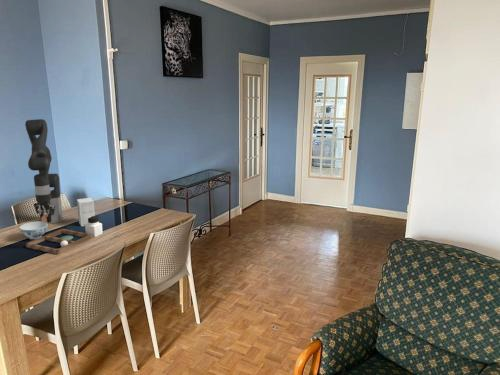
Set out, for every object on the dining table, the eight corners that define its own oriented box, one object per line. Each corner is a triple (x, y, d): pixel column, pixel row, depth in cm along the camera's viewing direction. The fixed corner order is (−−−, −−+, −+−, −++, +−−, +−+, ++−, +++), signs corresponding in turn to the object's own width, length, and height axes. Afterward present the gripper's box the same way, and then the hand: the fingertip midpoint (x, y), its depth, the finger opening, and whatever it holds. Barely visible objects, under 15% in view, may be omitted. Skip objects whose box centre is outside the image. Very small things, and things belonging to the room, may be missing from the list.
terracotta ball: (39, 222, 214) (39, 215, 213) (46, 220, 218) (45, 213, 217) (45, 224, 212) (44, 216, 211) (52, 221, 216) (51, 214, 215)
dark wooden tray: (25, 247, 216) (25, 243, 215) (62, 232, 239) (62, 228, 239) (57, 254, 208) (57, 250, 207) (92, 238, 231) (92, 234, 231)
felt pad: (55, 239, 227) (55, 239, 227) (66, 235, 235) (66, 234, 235) (65, 241, 225) (65, 241, 225) (76, 237, 232) (76, 236, 232)
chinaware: (22, 234, 234) (21, 222, 232) (50, 231, 240) (48, 220, 238) (19, 243, 221) (17, 231, 219) (48, 240, 226) (46, 228, 225)
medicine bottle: (103, 233, 239) (101, 215, 236) (95, 237, 232) (93, 219, 229) (93, 232, 241) (92, 214, 238) (85, 235, 235) (84, 217, 232)
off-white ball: (59, 247, 216) (58, 241, 215) (64, 245, 220) (64, 238, 219) (64, 248, 215) (63, 242, 214) (70, 246, 218) (69, 239, 217)
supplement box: (93, 220, 262) (91, 197, 258) (96, 224, 255) (94, 200, 251) (78, 222, 257) (76, 199, 253) (80, 226, 250) (78, 202, 245)
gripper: (27, 192, 210) (31, 221, 214) (46, 195, 205) (50, 225, 209) (39, 189, 216) (42, 217, 221) (57, 192, 212) (61, 221, 216)
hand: (46, 221), depth 215 cm, fingers closed on terracotta ball, 4 cm apart
